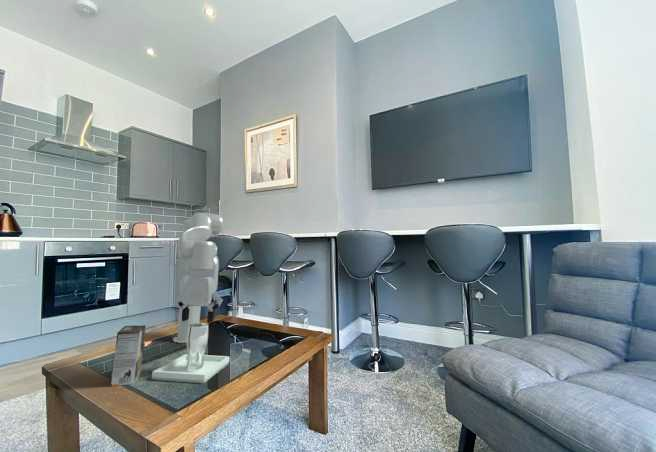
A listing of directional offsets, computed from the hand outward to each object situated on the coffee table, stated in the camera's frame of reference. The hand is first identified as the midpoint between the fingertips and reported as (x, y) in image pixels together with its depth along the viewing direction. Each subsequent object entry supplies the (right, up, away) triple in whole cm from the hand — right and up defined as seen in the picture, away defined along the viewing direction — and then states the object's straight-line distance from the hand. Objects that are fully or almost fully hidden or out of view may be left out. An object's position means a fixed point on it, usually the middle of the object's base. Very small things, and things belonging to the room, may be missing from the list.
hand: (197, 321), depth 100 cm
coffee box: (-18, -15, -11) cm, 26 cm away
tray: (0, -17, -3) cm, 17 cm away
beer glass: (0, -16, -3) cm, 16 cm away
